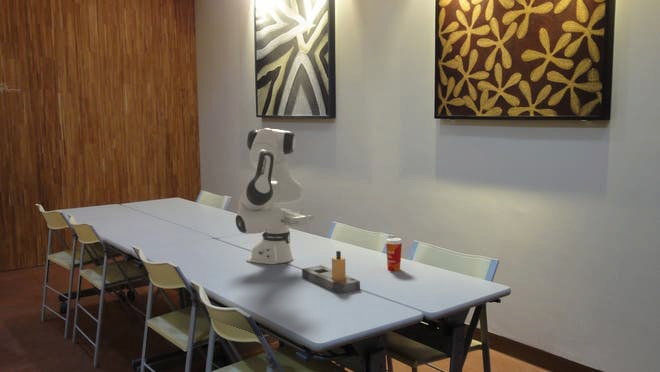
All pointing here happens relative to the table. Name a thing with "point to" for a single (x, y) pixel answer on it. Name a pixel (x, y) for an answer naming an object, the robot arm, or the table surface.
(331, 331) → the table surface
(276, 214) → the robot arm
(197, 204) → the table surface
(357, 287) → the grey socket board
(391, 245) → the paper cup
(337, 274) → the plug
